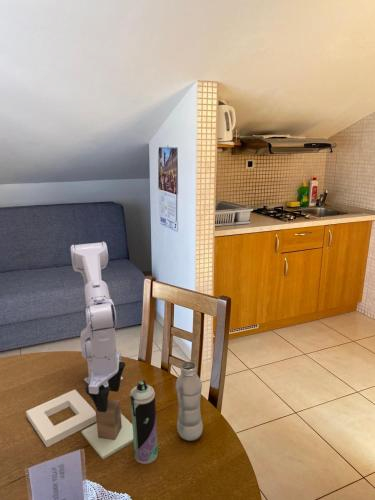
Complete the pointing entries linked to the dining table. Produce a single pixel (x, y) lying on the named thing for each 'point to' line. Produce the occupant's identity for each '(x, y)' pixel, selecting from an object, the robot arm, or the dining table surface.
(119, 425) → the walnut block
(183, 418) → the plastic bottle
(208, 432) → the dining table surface
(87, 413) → the socket board
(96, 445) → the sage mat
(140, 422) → the spray can
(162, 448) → the dining table surface
